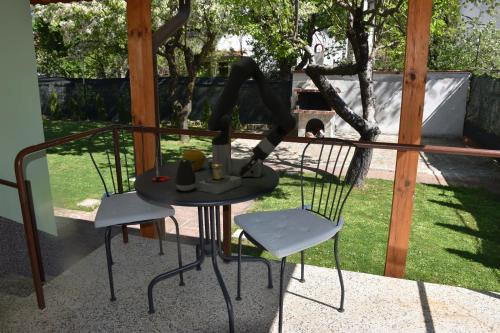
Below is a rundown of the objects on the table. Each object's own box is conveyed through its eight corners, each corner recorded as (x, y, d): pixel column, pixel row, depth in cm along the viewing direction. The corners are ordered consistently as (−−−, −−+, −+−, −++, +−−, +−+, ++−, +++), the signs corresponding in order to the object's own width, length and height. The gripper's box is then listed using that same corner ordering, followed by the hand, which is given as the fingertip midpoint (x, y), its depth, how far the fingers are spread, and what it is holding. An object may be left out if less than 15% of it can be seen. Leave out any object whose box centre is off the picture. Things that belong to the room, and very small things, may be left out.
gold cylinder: (217, 186, 202) (216, 162, 199) (224, 188, 199) (224, 163, 196) (210, 189, 198) (209, 164, 195) (218, 190, 195) (217, 165, 192)
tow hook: (156, 178, 223) (149, 181, 214) (155, 154, 220) (148, 157, 211) (171, 178, 222) (165, 182, 213) (170, 154, 219) (164, 157, 210)
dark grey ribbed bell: (198, 191, 195) (197, 160, 191) (176, 193, 192) (174, 162, 188) (195, 185, 204) (193, 156, 201) (174, 188, 202) (172, 157, 198)
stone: (237, 178, 217) (236, 159, 215) (241, 172, 228) (241, 155, 226) (261, 178, 215) (261, 160, 213) (264, 173, 226) (264, 155, 224)
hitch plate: (222, 181, 211) (222, 172, 210) (241, 185, 204) (241, 175, 203) (198, 190, 197) (198, 180, 195) (217, 194, 190) (217, 184, 189)
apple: (194, 166, 247) (193, 147, 244) (210, 168, 239) (209, 149, 237) (178, 170, 237) (177, 151, 234) (195, 173, 229) (194, 153, 227)
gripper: (260, 140, 198) (237, 163, 202) (256, 146, 184) (233, 171, 189) (271, 150, 199) (249, 173, 203) (269, 157, 185) (245, 182, 189)
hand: (241, 172), depth 196 cm, fingers open, 8 cm apart
